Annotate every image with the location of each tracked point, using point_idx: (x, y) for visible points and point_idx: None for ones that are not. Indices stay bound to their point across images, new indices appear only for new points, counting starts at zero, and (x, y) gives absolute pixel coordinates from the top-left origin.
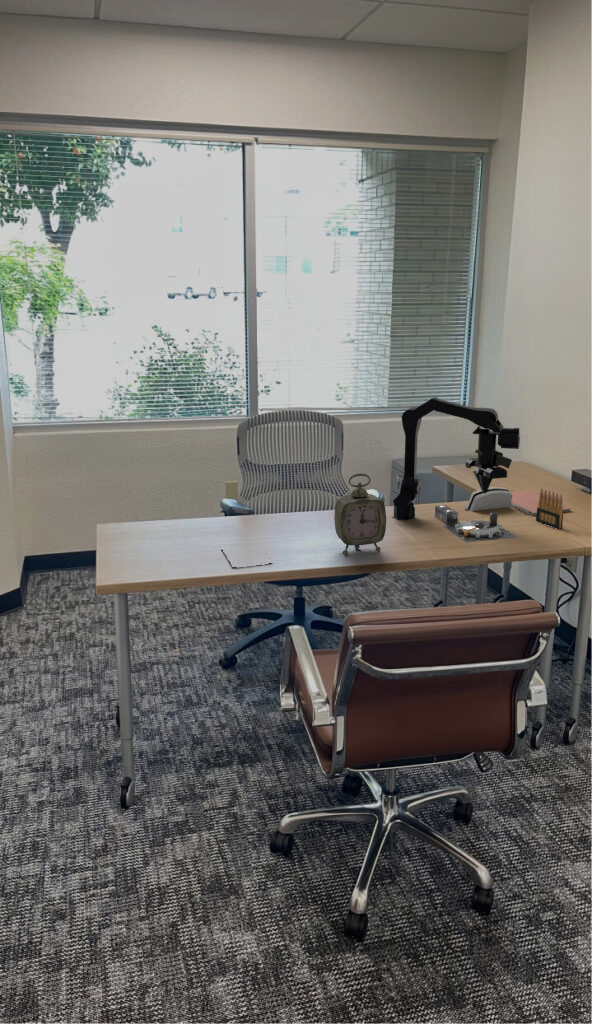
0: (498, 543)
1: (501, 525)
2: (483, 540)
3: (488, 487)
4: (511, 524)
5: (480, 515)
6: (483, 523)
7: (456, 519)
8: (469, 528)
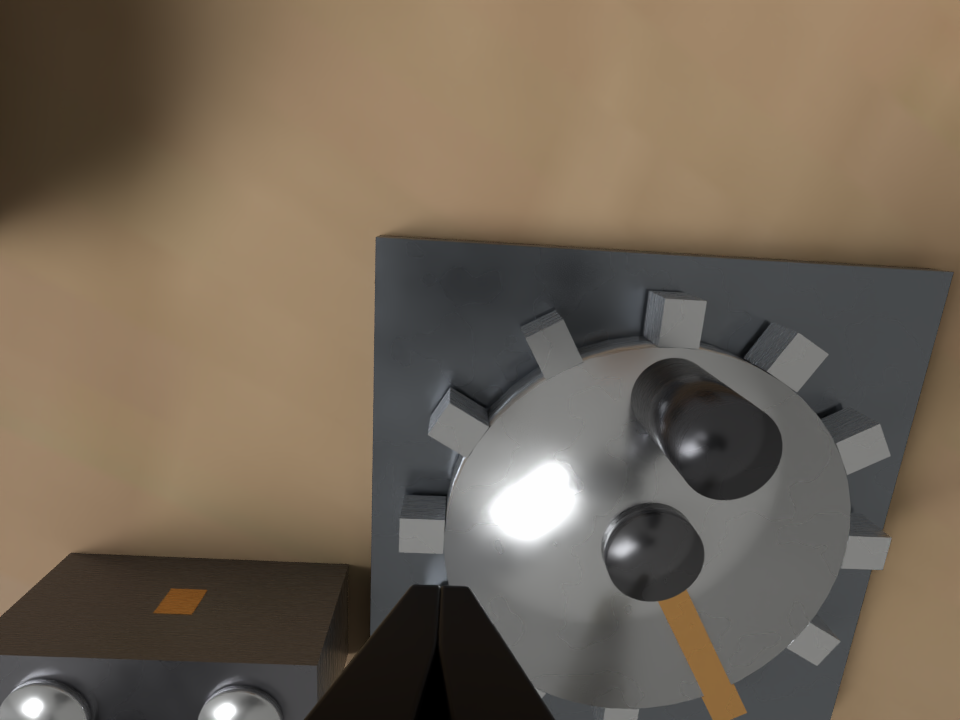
0: (910, 475)
1: (701, 306)
2: (862, 599)
3: (529, 690)
4: (477, 18)
5: (44, 174)
6: (658, 516)
7: (334, 621)
8: (664, 653)
